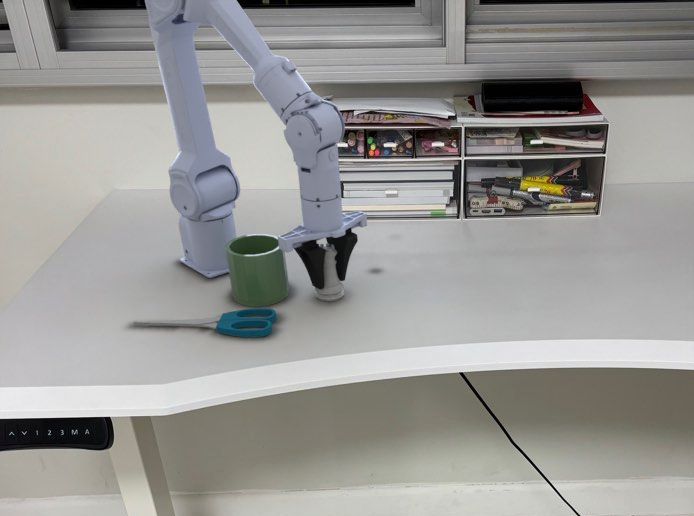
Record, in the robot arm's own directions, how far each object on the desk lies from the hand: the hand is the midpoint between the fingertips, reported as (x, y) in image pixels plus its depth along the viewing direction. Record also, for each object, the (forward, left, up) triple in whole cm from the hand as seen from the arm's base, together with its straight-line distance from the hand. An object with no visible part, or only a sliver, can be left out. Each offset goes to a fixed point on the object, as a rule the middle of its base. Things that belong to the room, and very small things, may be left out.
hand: (328, 282), depth 119 cm
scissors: (-5, -19, -2) cm, 19 cm away
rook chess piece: (0, 0, -2) cm, 2 cm away
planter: (-8, -7, -2) cm, 11 cm away
